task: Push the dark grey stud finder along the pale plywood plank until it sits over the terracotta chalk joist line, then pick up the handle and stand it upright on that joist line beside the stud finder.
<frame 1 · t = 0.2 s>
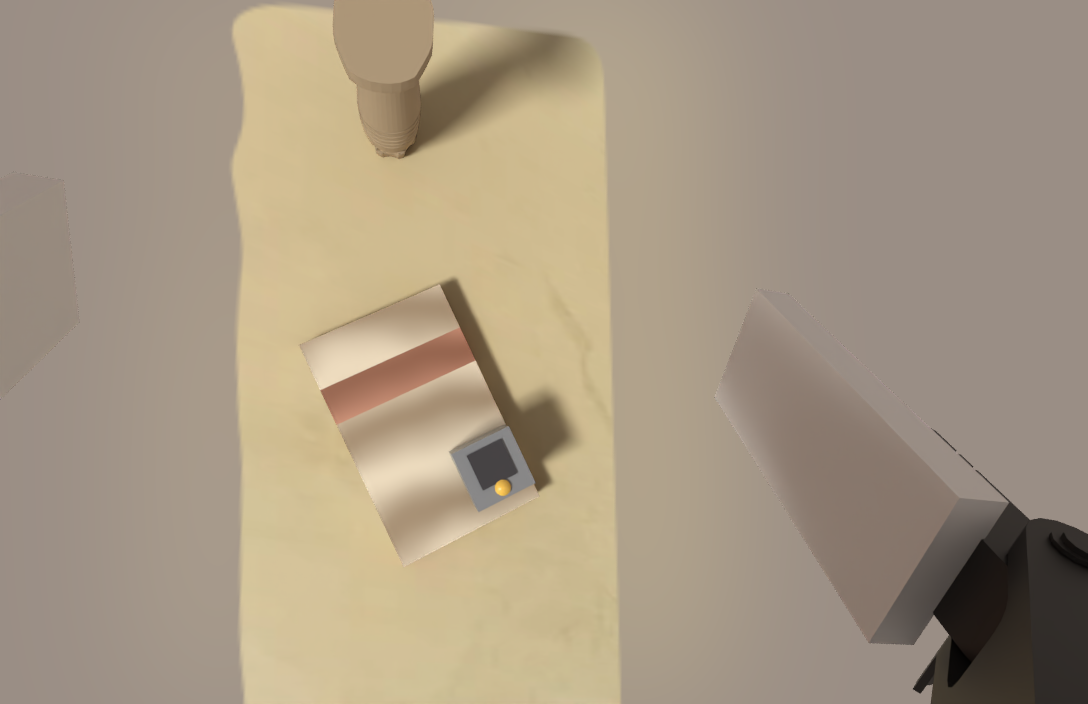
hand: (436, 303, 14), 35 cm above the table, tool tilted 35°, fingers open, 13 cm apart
handle: (391, 139, 49), on the table
plank: (421, 422, 47), on the table
finder: (491, 466, 45), point 3 cm above the table, slide at 0.0 cm
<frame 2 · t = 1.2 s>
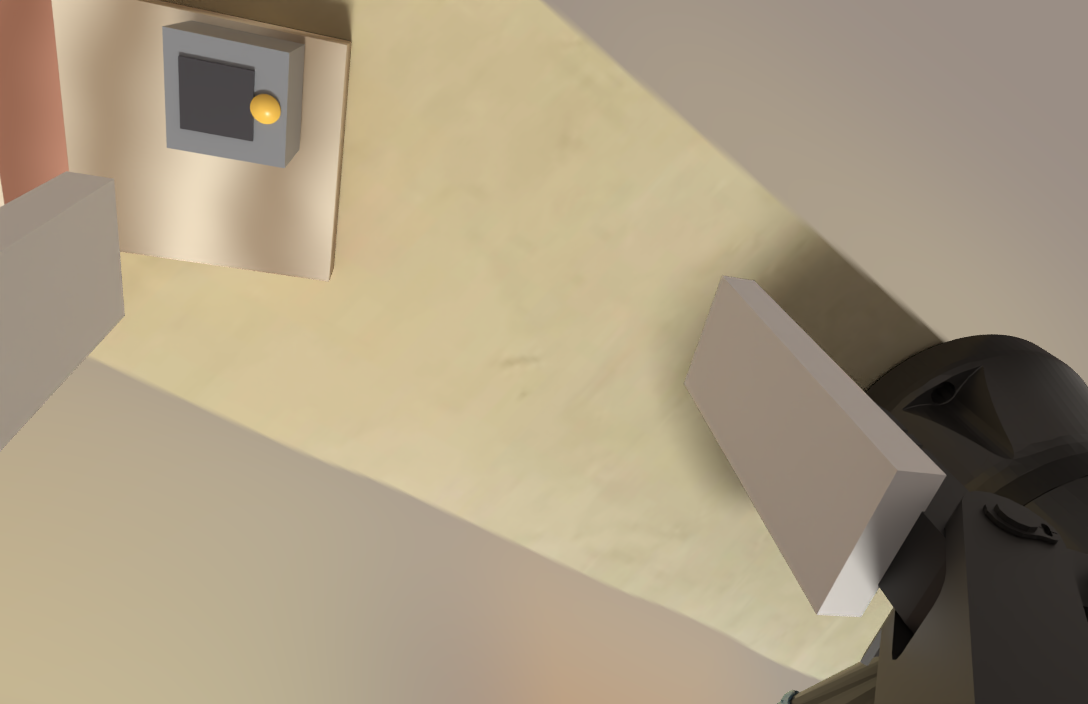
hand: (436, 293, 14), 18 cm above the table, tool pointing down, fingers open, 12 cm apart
plank: (142, 128, 28), on the table
finder: (237, 94, 25), point 3 cm above the table, slide at 0.0 cm
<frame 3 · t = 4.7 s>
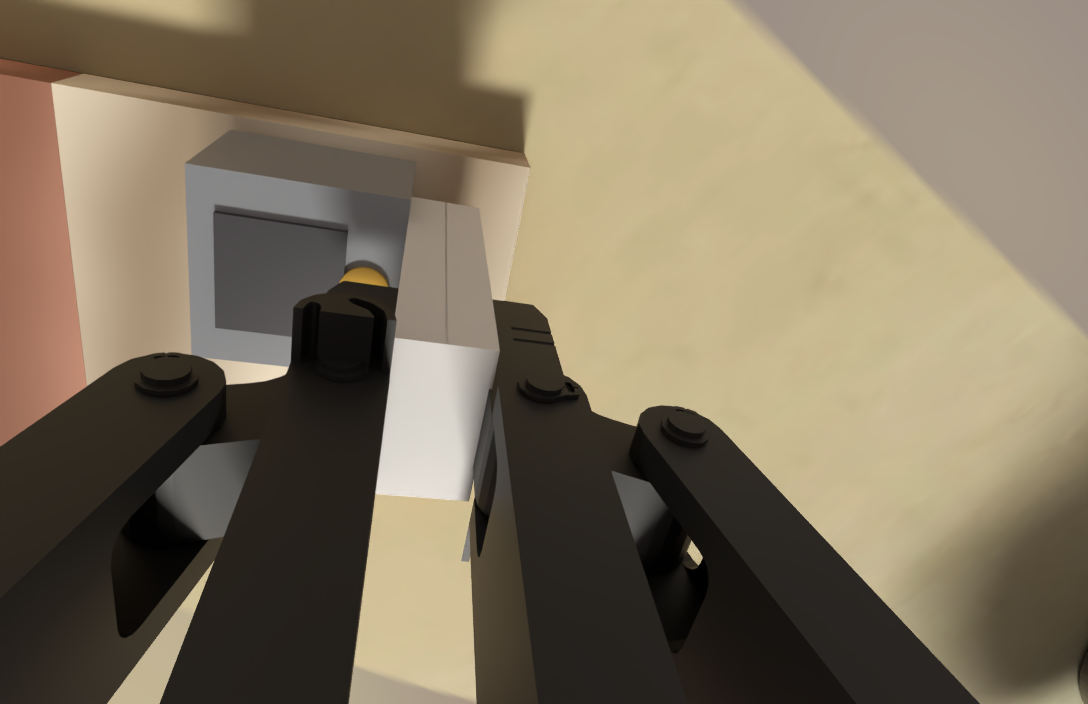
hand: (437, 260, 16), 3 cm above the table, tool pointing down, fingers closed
plank: (196, 287, 18), on the table
finder: (309, 255, 15), point 3 cm above the table, slide at 1.2 cm, touching gripper
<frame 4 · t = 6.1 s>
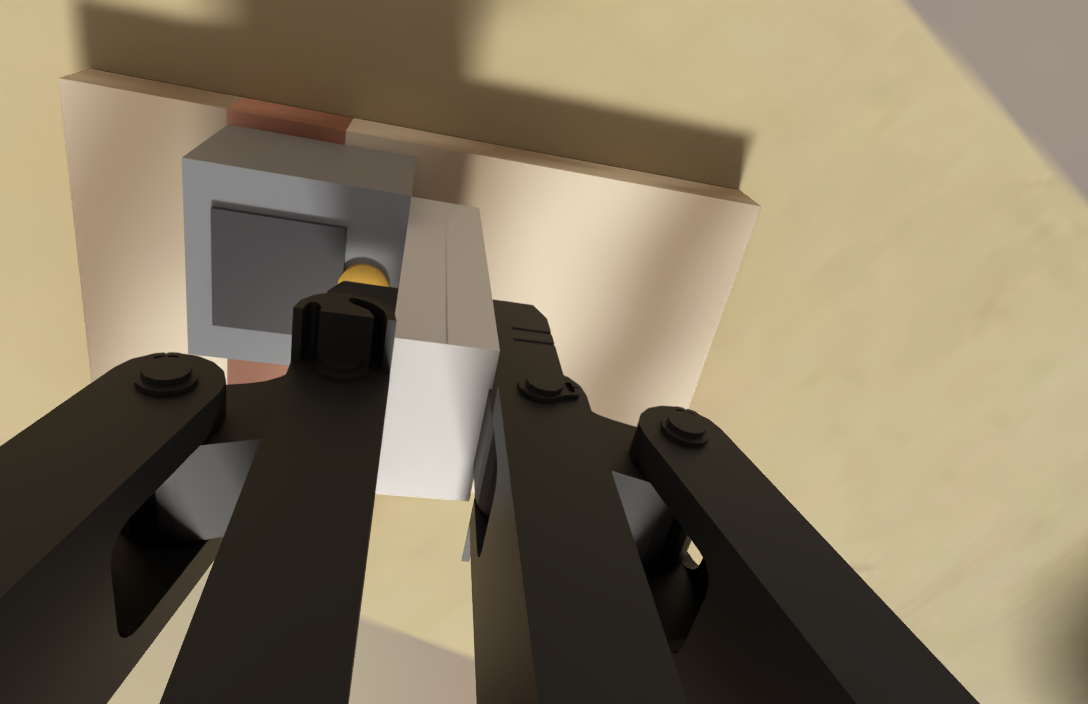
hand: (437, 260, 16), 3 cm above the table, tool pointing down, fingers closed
plank: (421, 314, 19), on the table
finder: (308, 251, 15), point 3 cm above the table, slide at 7.1 cm, touching gripper
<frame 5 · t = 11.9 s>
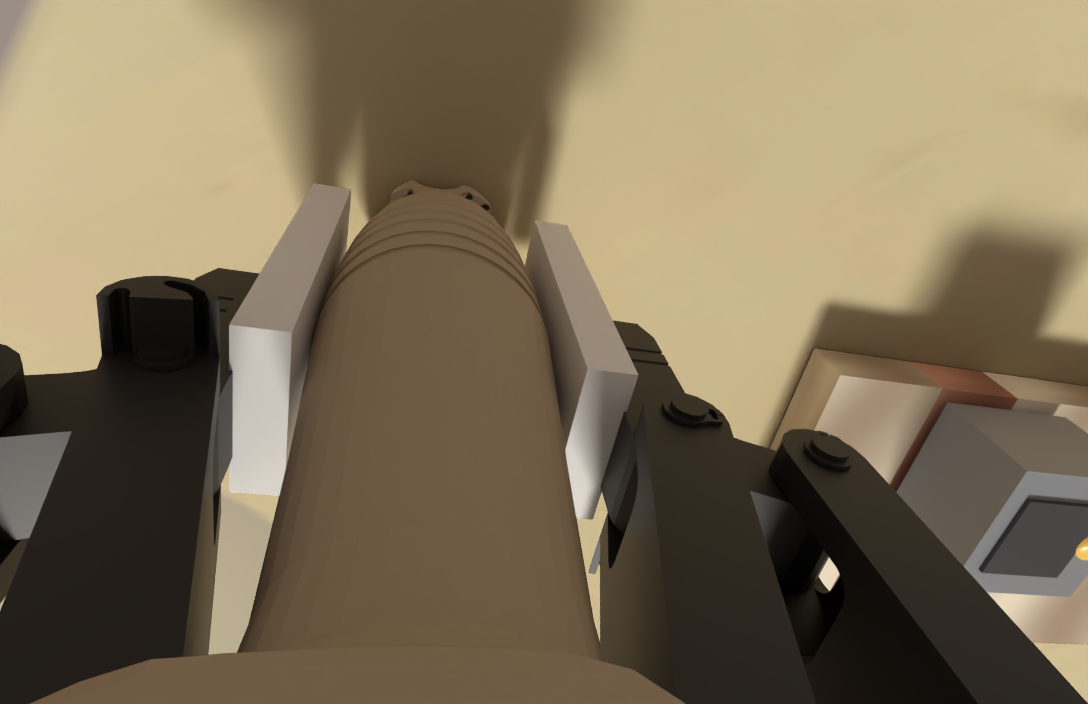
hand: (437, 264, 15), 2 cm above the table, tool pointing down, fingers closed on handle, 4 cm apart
handle: (437, 236, 17), on the table, touching gripper
plank: (964, 503, 24), on the table
finder: (1010, 501, 19), point 3 cm above the table, slide at 7.2 cm
when the fingers open (5 cm above the table, at t = 18.1 s): handle drops 2 cm, resting on plank.
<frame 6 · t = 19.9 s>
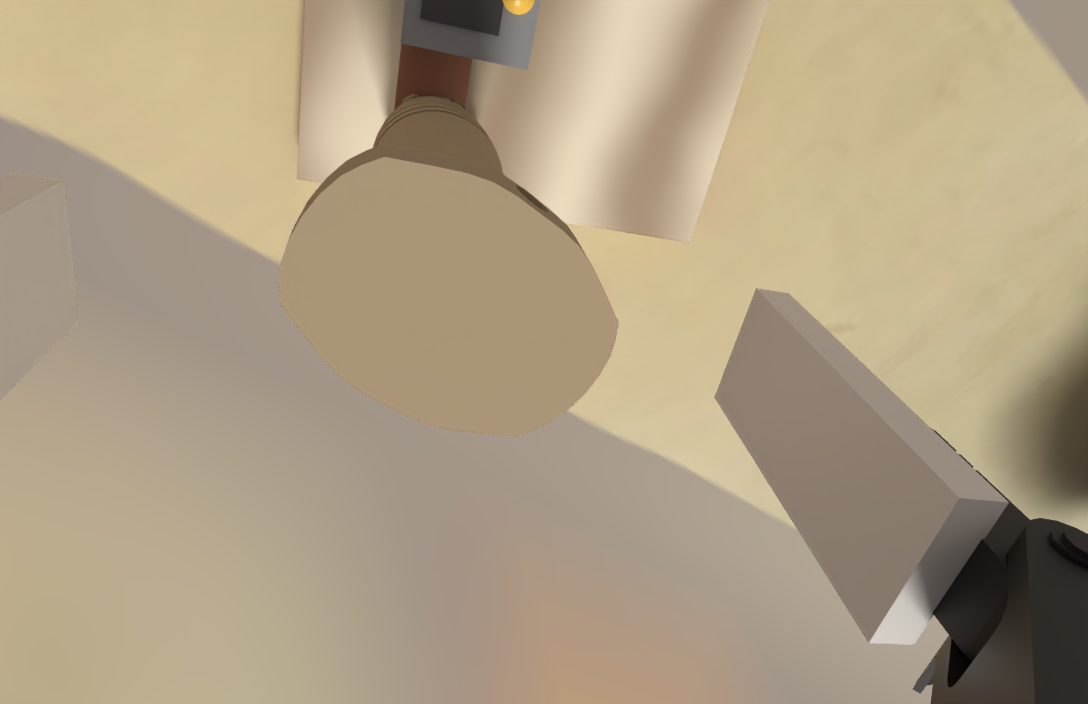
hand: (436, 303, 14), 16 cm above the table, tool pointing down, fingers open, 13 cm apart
handle: (430, 134, 26), point 1 cm above the table, touching plank
plank: (526, 76, 27), on the table
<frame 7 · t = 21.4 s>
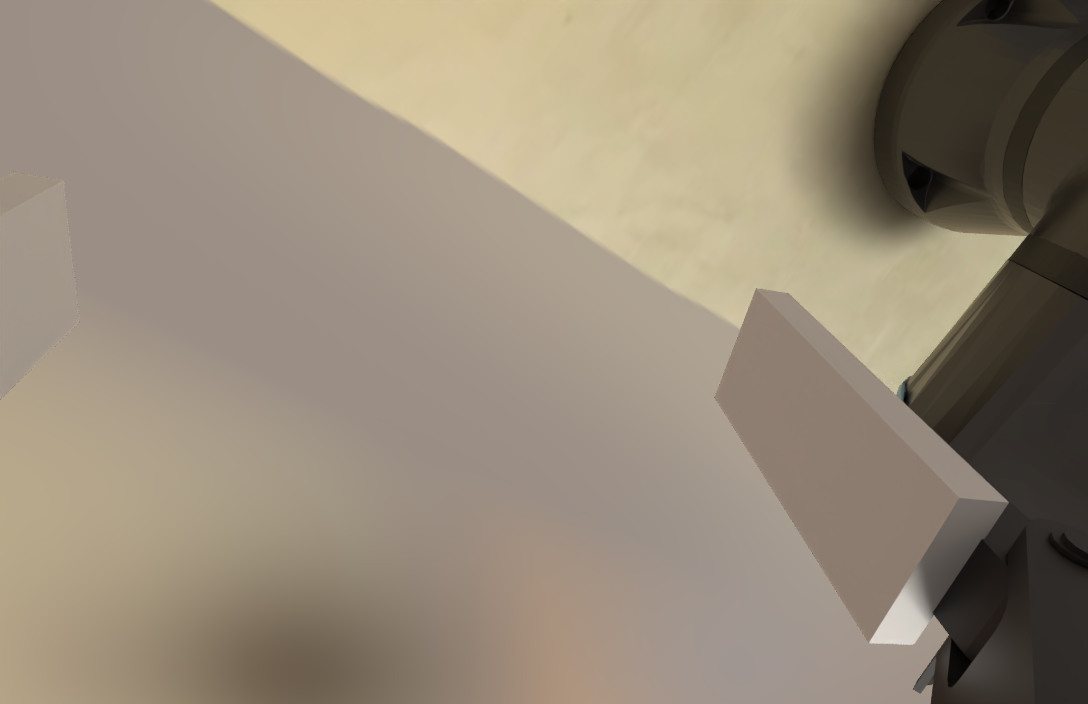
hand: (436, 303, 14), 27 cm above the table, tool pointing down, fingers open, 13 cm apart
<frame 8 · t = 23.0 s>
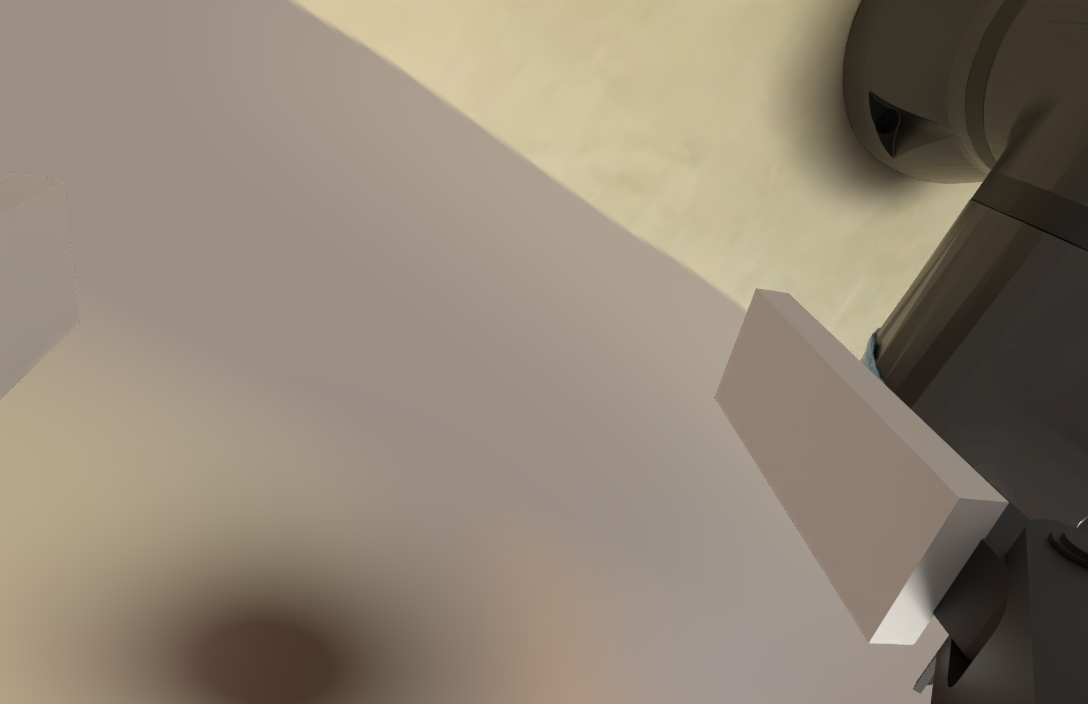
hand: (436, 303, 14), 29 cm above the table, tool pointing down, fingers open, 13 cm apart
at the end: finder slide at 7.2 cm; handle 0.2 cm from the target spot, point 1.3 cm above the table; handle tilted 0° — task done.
